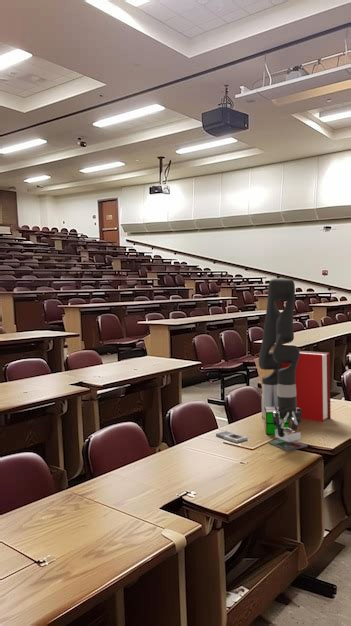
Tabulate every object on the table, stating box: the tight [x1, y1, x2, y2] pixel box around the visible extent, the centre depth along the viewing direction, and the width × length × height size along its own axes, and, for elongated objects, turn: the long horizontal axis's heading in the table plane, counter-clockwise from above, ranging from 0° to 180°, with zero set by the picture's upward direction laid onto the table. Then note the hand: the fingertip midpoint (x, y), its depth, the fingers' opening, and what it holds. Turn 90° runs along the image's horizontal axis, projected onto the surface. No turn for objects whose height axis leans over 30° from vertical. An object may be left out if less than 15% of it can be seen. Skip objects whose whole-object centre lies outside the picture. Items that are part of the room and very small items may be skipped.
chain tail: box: [215, 430, 248, 444], centre depth 207 cm, size 13×6×1 cm, turn 37°
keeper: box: [268, 432, 308, 452], centre depth 196 cm, size 12×10×5 cm
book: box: [272, 350, 332, 423], centre depth 239 cm, size 27×8×32 cm, turn 48°
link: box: [274, 427, 302, 442], centre depth 196 cm, size 8×6×3 cm
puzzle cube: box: [263, 407, 290, 436], centre depth 215 cm, size 10×10×10 cm
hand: (287, 435), depth 196 cm, fingers closed on link, 6 cm apart
